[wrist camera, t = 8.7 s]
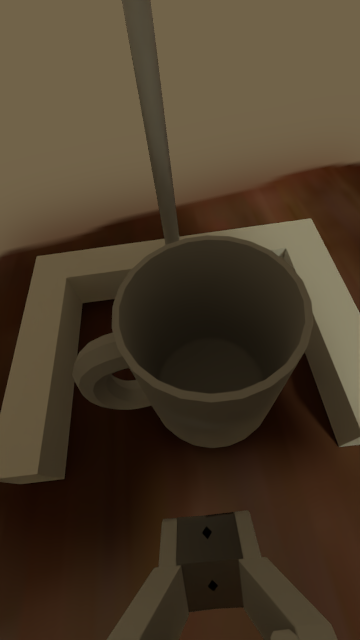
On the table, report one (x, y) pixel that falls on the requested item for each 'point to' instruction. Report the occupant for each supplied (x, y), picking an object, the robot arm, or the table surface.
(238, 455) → the table surface
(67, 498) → the table surface
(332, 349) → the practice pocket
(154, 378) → the cup
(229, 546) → the robot arm
